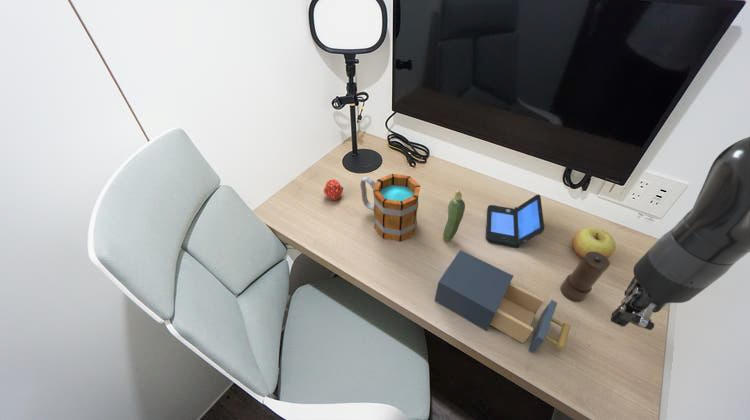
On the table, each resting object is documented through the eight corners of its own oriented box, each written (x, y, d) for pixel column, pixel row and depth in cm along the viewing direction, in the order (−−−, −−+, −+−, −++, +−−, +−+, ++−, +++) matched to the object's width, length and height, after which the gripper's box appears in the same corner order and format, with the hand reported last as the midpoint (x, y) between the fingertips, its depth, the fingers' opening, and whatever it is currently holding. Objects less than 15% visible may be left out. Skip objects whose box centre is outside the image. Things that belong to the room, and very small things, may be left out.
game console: (486, 207, 103) (493, 185, 96) (530, 214, 100) (540, 192, 93) (485, 242, 92) (492, 220, 85) (533, 252, 89) (545, 230, 83)
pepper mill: (589, 300, 78) (619, 265, 68) (568, 303, 78) (596, 269, 68) (575, 281, 82) (602, 246, 72) (555, 284, 82) (580, 249, 72)
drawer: (565, 326, 72) (578, 312, 68) (553, 365, 66) (566, 352, 62) (495, 290, 80) (502, 274, 75) (478, 322, 74) (485, 307, 69)
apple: (567, 236, 93) (579, 217, 88) (604, 245, 90) (619, 226, 85) (568, 261, 87) (580, 242, 81) (608, 272, 84) (624, 253, 78)
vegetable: (448, 232, 95) (459, 180, 81) (459, 240, 93) (473, 188, 79) (438, 239, 93) (448, 188, 79) (449, 248, 91) (462, 196, 77)
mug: (425, 221, 99) (430, 184, 88) (402, 249, 91) (404, 212, 80) (375, 197, 107) (374, 161, 97) (349, 220, 99) (346, 184, 89)
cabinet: (503, 295, 80) (513, 275, 74) (486, 331, 73) (495, 313, 67) (454, 269, 85) (460, 249, 79) (434, 300, 79) (438, 281, 73)
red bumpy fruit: (327, 205, 108) (324, 185, 111) (346, 201, 108) (343, 181, 111) (322, 198, 102) (320, 177, 105) (342, 194, 102) (339, 173, 105)
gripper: (716, 313, 39) (637, 364, 51) (713, 245, 47) (644, 304, 59) (645, 283, 42) (586, 338, 54) (653, 224, 50) (600, 284, 62)
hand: (617, 320), depth 56 cm, fingers closed
